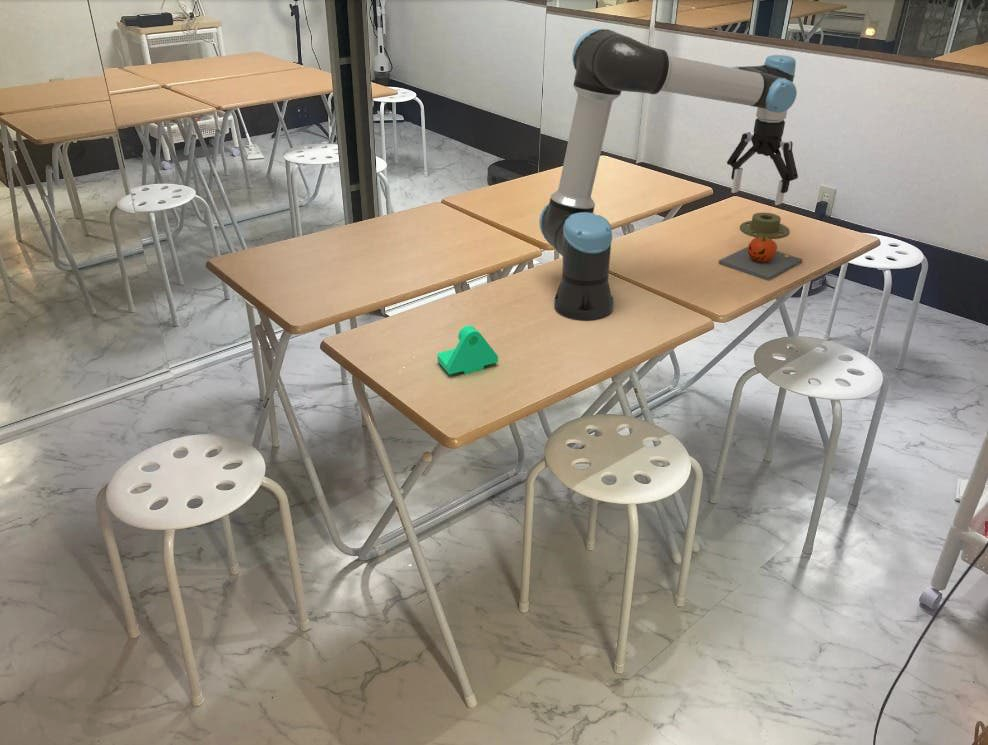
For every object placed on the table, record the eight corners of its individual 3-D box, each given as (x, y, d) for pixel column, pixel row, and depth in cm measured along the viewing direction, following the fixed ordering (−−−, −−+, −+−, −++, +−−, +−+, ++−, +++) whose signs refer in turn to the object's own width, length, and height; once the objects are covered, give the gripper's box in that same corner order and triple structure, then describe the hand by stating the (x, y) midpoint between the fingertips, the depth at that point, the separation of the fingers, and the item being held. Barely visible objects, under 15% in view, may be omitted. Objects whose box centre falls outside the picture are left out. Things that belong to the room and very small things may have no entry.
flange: (775, 229, 239) (801, 217, 248) (732, 216, 249) (758, 205, 258) (772, 244, 242) (798, 231, 251) (730, 231, 251) (755, 219, 260)
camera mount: (483, 351, 186) (483, 312, 181) (498, 366, 180) (497, 326, 175) (436, 363, 182) (434, 323, 176) (449, 378, 176) (447, 337, 171)
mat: (768, 280, 218) (769, 275, 218) (718, 263, 228) (719, 259, 228) (802, 262, 229) (802, 257, 228) (752, 247, 239) (753, 242, 238)
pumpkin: (755, 252, 233) (759, 228, 229) (780, 260, 228) (784, 235, 224) (740, 259, 228) (744, 235, 224) (765, 267, 223) (770, 242, 219)
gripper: (822, 125, 203) (805, 205, 214) (737, 108, 219) (725, 184, 230) (807, 130, 198) (790, 212, 209) (721, 112, 214) (710, 189, 225)
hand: (756, 197), depth 219 cm, fingers open, 13 cm apart
